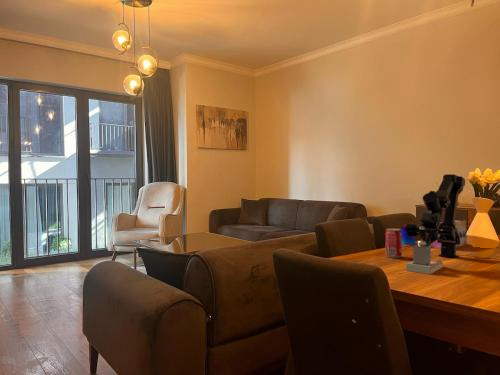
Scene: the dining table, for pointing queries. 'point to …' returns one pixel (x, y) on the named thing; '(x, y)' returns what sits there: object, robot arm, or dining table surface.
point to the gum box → (461, 231)
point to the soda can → (393, 243)
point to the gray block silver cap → (422, 253)
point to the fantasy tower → (407, 238)
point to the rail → (424, 267)
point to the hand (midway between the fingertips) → (424, 247)
